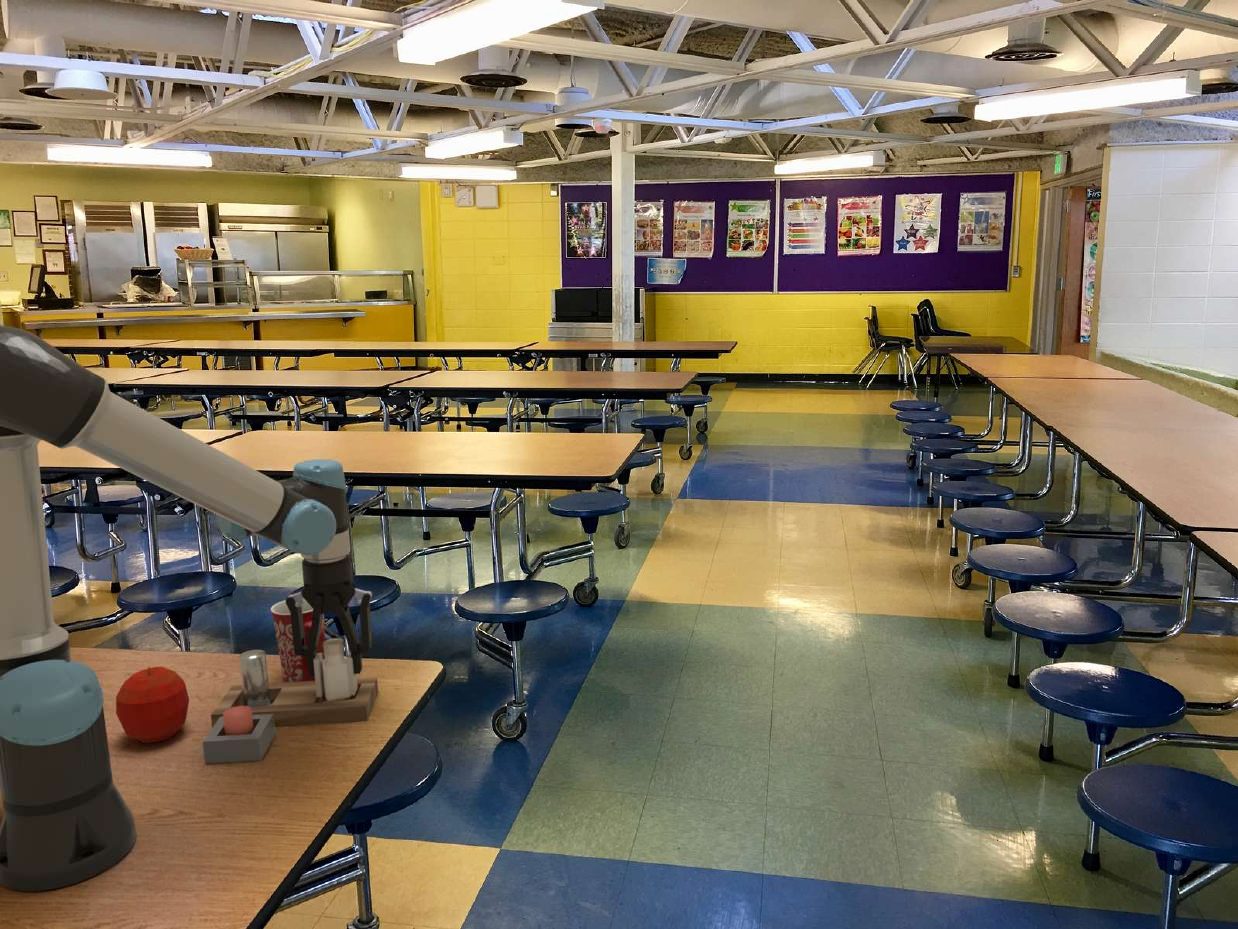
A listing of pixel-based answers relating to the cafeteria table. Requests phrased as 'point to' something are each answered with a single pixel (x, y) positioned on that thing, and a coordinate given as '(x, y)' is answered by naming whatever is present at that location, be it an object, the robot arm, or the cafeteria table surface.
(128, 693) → the apple
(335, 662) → the pepper shaker
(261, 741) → the button housing
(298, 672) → the mug
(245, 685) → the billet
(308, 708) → the board
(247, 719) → the button
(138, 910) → the cafeteria table surface
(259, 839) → the cafeteria table surface
